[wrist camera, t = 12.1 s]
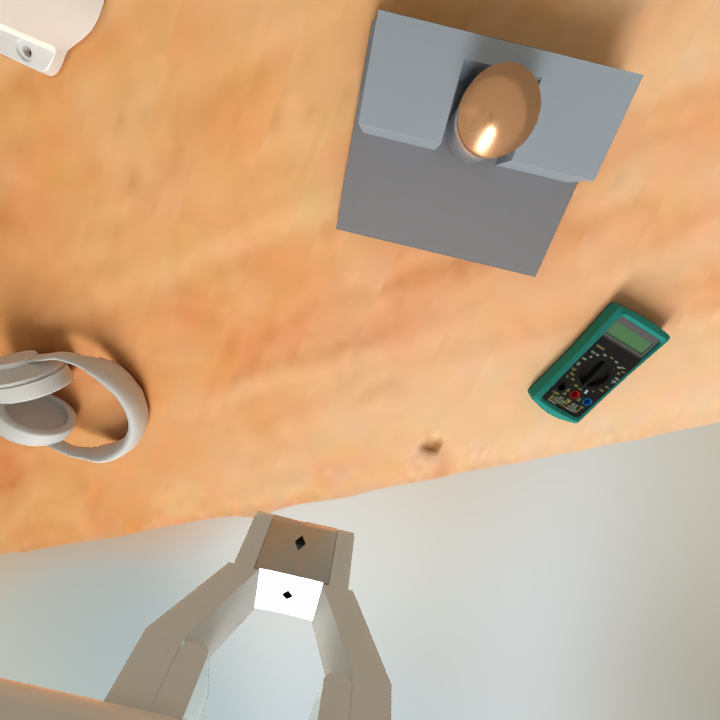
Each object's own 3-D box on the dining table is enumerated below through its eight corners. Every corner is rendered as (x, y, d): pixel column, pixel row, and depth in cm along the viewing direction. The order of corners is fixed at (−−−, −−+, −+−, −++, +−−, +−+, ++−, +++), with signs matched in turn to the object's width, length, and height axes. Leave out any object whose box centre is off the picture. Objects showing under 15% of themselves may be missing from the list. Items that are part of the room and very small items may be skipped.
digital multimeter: (521, 392, 45) (529, 405, 42) (611, 297, 39) (626, 305, 36) (565, 416, 46) (575, 430, 43) (659, 328, 40) (678, 338, 37)
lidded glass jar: (435, 158, 32) (448, 147, 25) (454, 89, 30) (475, 52, 22) (490, 172, 33) (520, 165, 25) (513, 104, 30) (555, 72, 22)
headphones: (24, 422, 55) (155, 448, 58) (-22, 457, 48) (130, 484, 52) (7, 320, 47) (161, 358, 50) (-51, 346, 40) (132, 387, 43)
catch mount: (338, 227, 38) (327, 233, 32) (373, 27, 30) (367, -13, 24) (530, 273, 38) (554, 288, 32) (613, 86, 30) (665, 61, 24)
